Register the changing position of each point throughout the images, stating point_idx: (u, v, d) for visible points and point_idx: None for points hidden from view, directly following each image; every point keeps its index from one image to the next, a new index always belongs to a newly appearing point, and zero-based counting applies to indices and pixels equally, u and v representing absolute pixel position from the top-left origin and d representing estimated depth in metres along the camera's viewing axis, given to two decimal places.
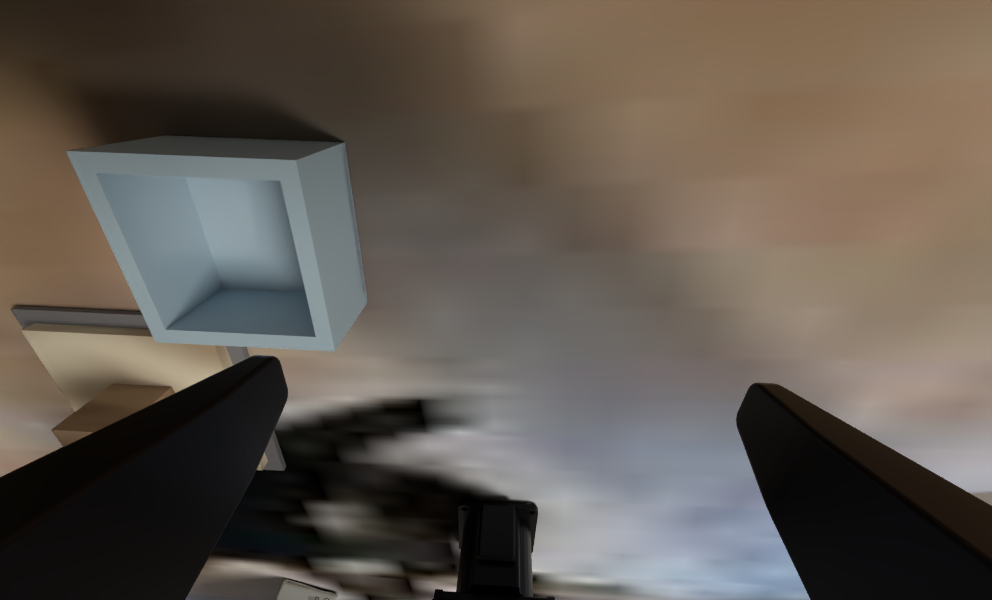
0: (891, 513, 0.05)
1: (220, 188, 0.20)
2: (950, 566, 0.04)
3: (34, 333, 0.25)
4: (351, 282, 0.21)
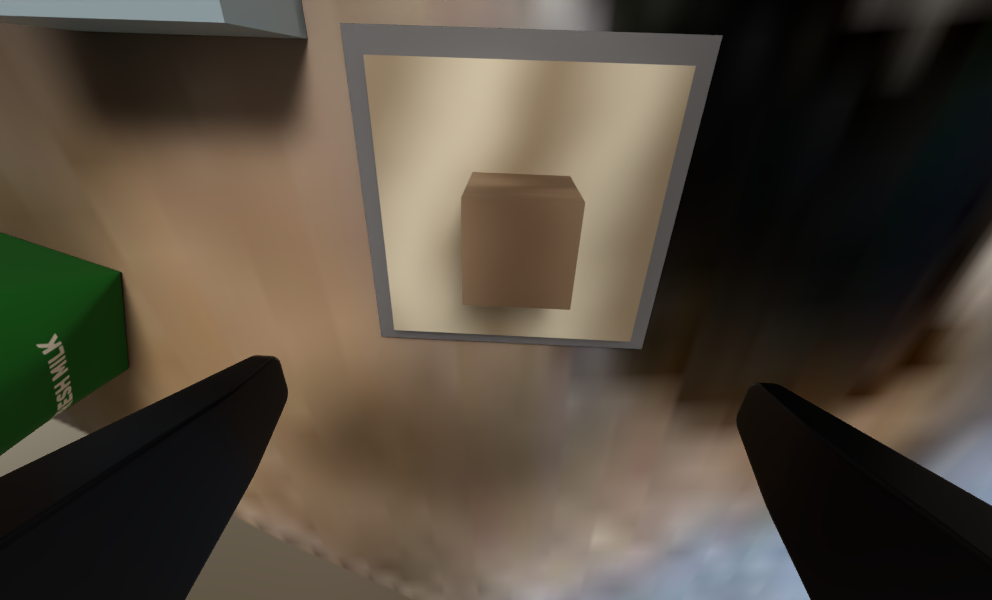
0: (891, 513, 0.05)
1: None
2: (950, 566, 0.04)
3: (397, 318, 0.20)
4: None
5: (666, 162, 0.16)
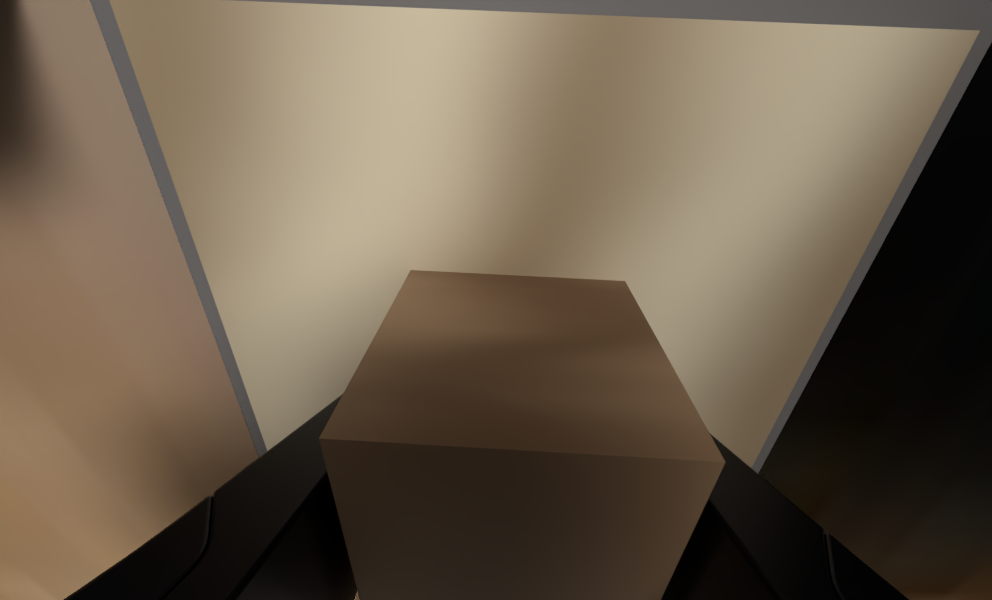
0: None
1: None
2: (721, 552, 0.04)
3: None
4: None
5: (846, 257, 0.07)
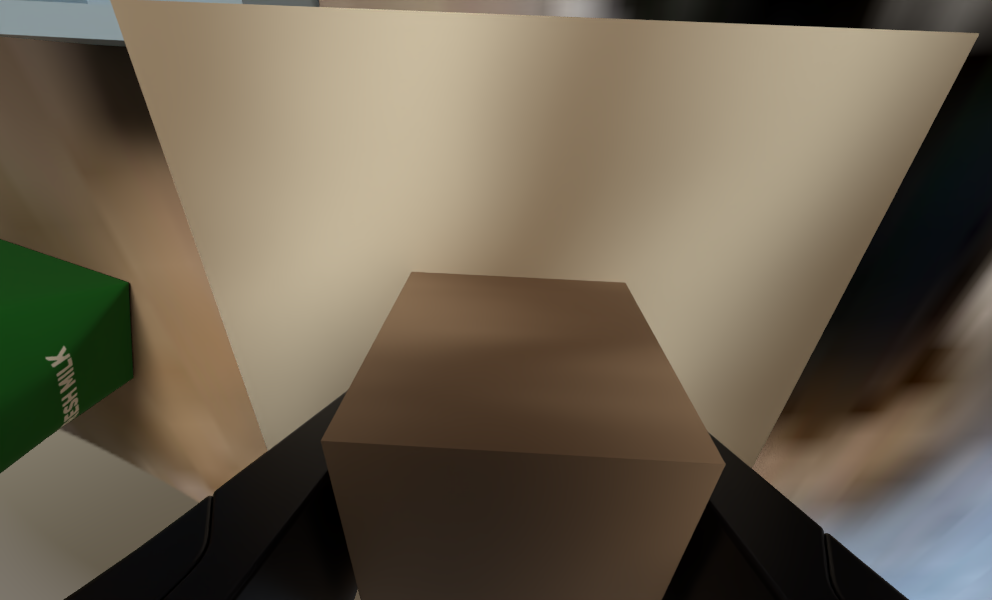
0: None
1: None
2: (721, 552, 0.04)
3: None
4: None
5: (846, 259, 0.07)
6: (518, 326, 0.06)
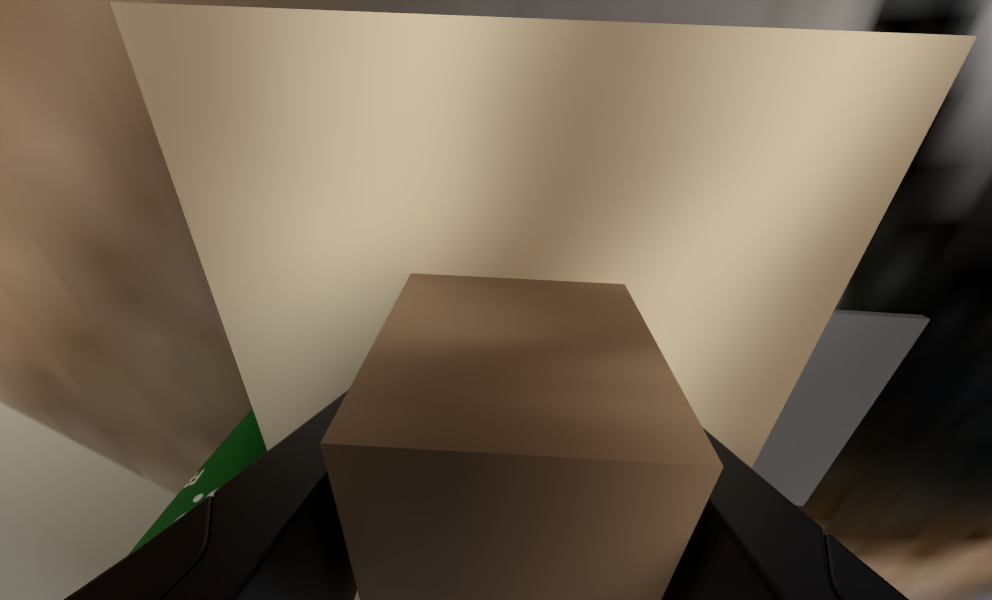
0: None
1: None
2: (721, 552, 0.04)
3: None
4: None
5: (845, 261, 0.07)
6: (517, 328, 0.06)
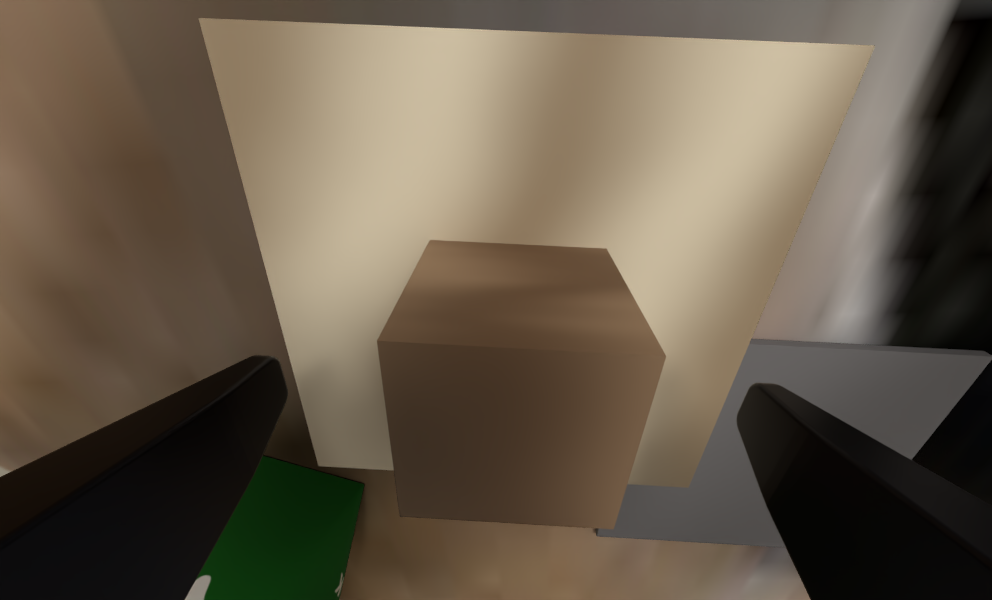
0: (891, 512, 0.05)
1: None
2: (950, 566, 0.04)
3: (321, 450, 0.13)
4: None
5: (786, 228, 0.09)
6: (518, 276, 0.07)
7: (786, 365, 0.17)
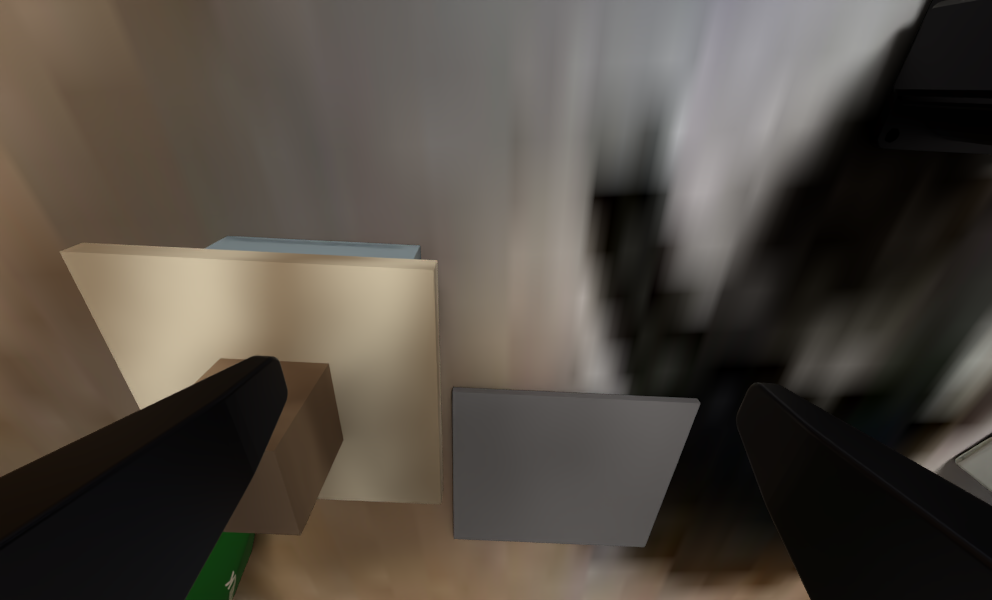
0: (891, 513, 0.05)
1: None
2: (950, 566, 0.04)
3: None
4: None
5: (429, 353, 0.14)
6: None
7: (556, 409, 0.23)
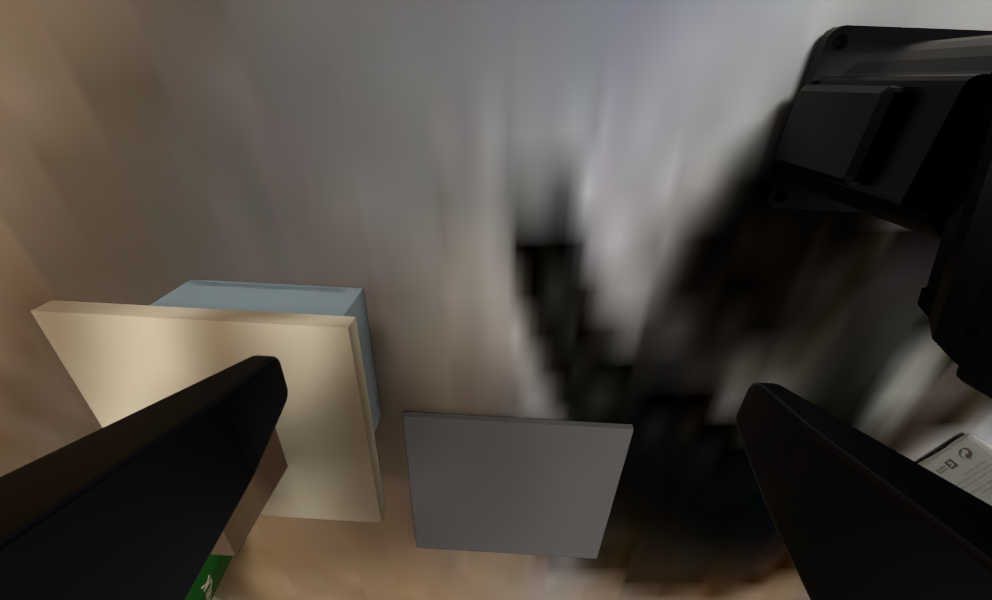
0: (891, 512, 0.05)
1: None
2: (950, 566, 0.04)
3: None
4: (304, 303, 0.19)
5: (353, 395, 0.16)
6: None
7: (500, 433, 0.25)
